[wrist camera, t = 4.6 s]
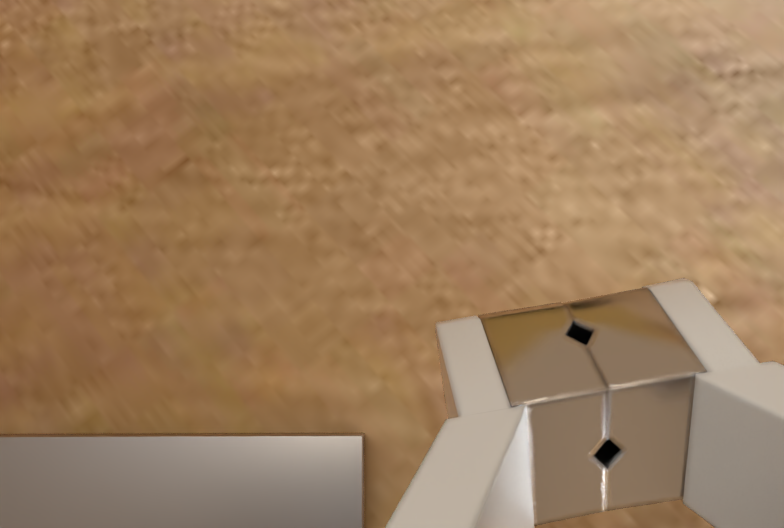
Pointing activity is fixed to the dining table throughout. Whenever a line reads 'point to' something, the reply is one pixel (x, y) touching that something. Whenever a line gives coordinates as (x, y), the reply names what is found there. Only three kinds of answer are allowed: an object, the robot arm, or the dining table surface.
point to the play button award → (182, 480)
